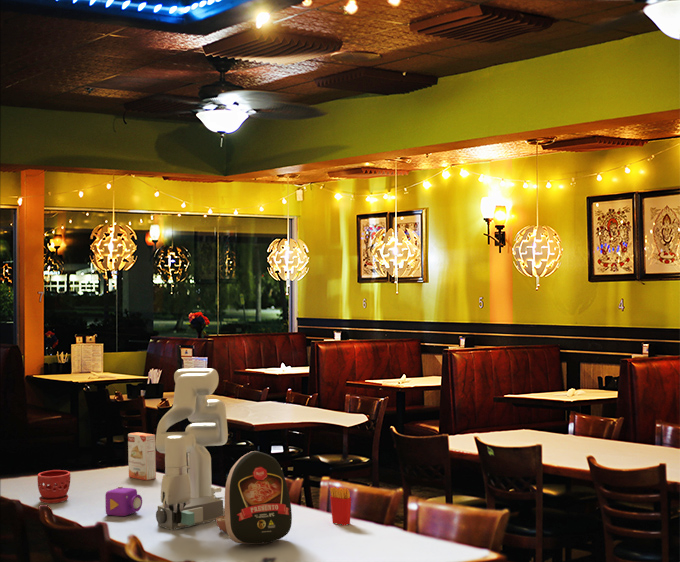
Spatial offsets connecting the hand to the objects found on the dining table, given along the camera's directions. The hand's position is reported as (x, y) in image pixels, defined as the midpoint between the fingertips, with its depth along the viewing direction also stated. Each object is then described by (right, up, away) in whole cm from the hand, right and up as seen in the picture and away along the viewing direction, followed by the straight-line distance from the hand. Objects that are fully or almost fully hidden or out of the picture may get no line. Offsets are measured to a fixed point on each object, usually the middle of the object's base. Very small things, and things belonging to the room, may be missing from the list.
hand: (176, 522), depth 303 cm
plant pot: (-62, -7, +55) cm, 83 cm away
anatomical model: (+24, -3, +4) cm, 24 cm away
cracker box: (-36, -8, +101) cm, 107 cm away
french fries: (+58, -3, +8) cm, 59 cm away
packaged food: (+30, -2, -16) cm, 34 cm away
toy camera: (-26, -5, +29) cm, 39 cm away
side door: (+5, -2, +5) cm, 8 cm away
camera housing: (+3, -4, +14) cm, 15 cm away
